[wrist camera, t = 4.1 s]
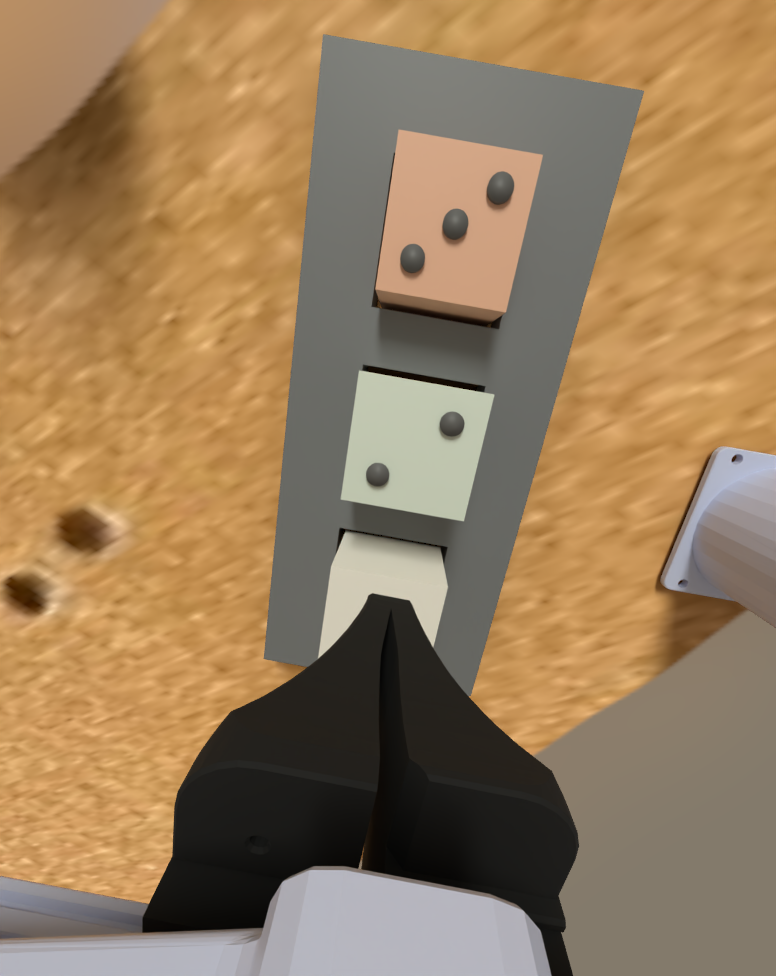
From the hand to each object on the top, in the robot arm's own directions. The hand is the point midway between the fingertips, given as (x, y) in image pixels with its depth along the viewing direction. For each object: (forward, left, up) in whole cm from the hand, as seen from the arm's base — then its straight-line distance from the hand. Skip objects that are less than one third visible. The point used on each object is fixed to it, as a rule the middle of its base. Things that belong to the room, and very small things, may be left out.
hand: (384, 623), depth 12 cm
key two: (0, -5, -8) cm, 9 cm away
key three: (0, -13, -9) cm, 16 cm away
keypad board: (0, -5, -9) cm, 11 cm away
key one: (0, +3, -8) cm, 8 cm away
